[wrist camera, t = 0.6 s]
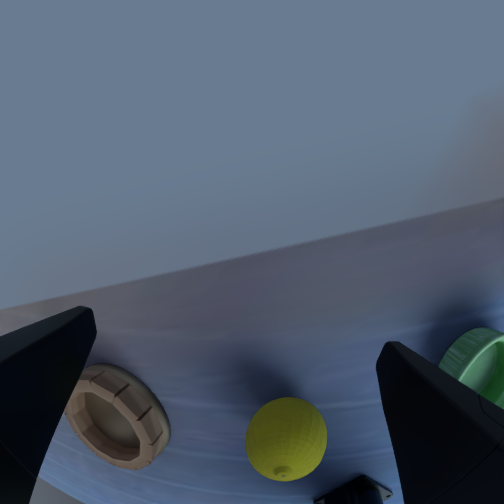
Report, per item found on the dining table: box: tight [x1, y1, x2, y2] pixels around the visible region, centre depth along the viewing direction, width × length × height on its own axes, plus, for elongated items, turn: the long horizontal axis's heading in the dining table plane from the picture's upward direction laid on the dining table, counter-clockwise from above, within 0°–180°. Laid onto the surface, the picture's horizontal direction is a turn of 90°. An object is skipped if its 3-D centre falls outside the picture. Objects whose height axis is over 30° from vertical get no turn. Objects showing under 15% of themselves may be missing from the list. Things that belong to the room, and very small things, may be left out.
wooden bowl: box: [64, 363, 171, 470], centre depth 21 cm, size 11×11×3 cm
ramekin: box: [438, 327, 504, 409], centre depth 15 cm, size 9×9×4 cm
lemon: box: [246, 397, 327, 481], centre depth 16 cm, size 6×6×8 cm
